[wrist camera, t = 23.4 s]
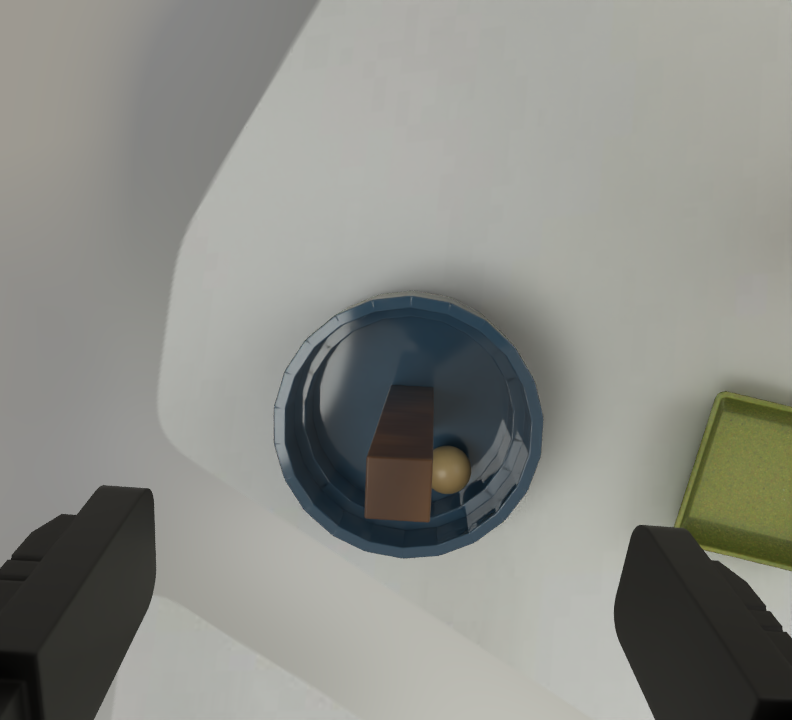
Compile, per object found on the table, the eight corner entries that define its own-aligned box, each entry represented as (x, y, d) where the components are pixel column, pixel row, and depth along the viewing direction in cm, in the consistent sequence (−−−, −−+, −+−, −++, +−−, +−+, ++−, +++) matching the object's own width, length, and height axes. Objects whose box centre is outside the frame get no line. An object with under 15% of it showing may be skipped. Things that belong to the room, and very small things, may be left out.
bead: (420, 494, 34) (433, 499, 37) (468, 488, 34) (478, 493, 36) (415, 445, 35) (427, 453, 37) (462, 438, 34) (472, 446, 37)
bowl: (251, 434, 38) (223, 462, 33) (380, 242, 36) (371, 240, 31) (438, 560, 39) (439, 607, 33) (575, 378, 36) (599, 398, 31)
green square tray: (656, 526, 38) (669, 542, 35) (702, 381, 36) (719, 389, 34) (806, 562, 37) (828, 580, 35) (858, 418, 36) (884, 428, 34)
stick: (388, 426, 37) (363, 519, 24) (390, 384, 36) (366, 455, 23) (431, 428, 37) (429, 523, 24) (433, 386, 36) (433, 459, 23)
